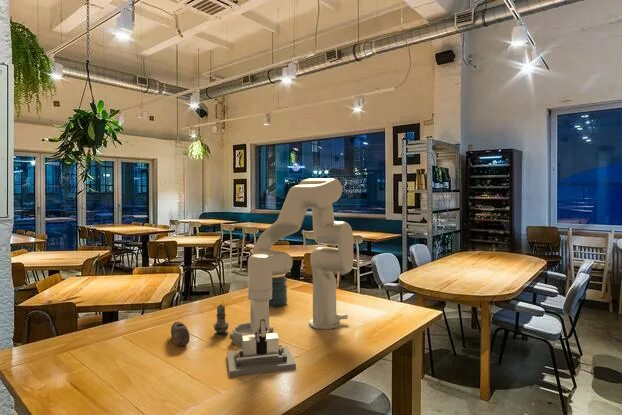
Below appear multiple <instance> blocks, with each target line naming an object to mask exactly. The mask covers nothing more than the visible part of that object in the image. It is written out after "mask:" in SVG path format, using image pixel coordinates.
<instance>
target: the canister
mask: <svg viewBox="0 0 622 415" xmlns="http://www.w3.org/2000/svg"><path fill="white" fill-rule="evenodd" d="M287 281H288V278H287V277H286V273H285V274H282V275H273V276H272V299H270V300H269V308H279V307H283V306H285V305H287V302H288V289H287V288H288V285H287Z"/></svg>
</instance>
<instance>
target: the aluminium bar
mask: <svg viewBox="0 0 622 415" xmlns="http://www.w3.org/2000/svg"><path fill="white" fill-rule="evenodd" d="M260 335H261V334H259V336H260ZM266 338H267V353H266V354H259V355H269V354H279V346H280V345H279V344H280V343H279V342H280V341H279V340H280V339H279V335H278V333H277V332H273V333H268V334H266ZM256 341H257V335H245V336H242V349H241V350H242V351H243V357H248V356H258V355H257V353H256Z"/></svg>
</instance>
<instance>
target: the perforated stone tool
mask: <svg viewBox="0 0 622 415" xmlns="http://www.w3.org/2000/svg"><path fill="white" fill-rule="evenodd" d="M170 335H171V338H172V340H173V343H174V344H175V345H176V346H179V347H181V346H186V345H188V344H189V342H190V332H189V329H188V327H187V326H186V325H185V324H184V323H183V322H181V321H174V322H173V323H172V325H171V328H170Z"/></svg>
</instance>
